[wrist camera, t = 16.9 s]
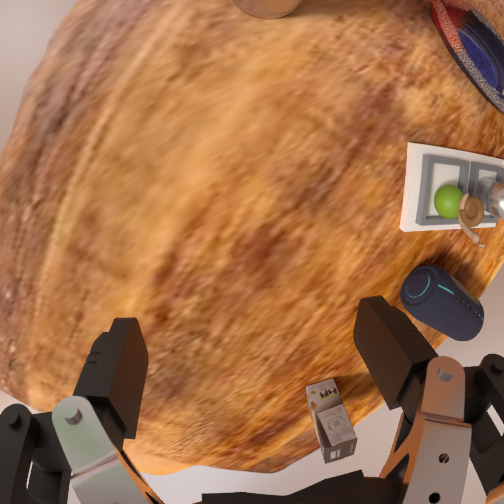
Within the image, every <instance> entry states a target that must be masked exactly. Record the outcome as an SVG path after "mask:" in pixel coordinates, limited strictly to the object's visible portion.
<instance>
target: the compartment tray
mask: <svg viewBox="0 0 504 504" xmlns="http://www.w3.org/2000/svg"><path fill="white" fill-rule="evenodd" d="M482 177H486V178H489V179H492V180H494V181H497V182H499V183H502V184H503V183H504V160H502V159H499V158H495V157H490V156H486V155H481V154H477V153H472V152H467V151H462V150H456V149H451V148H445V147H439V146H433V145H426V144H419V143H411V142H408V150H407V166H406V178H405V189H404V198H403V207H402V214H401V222H400V229H401V230H403V231H404V232H409V231H426V230H444V229H462V228H461V226H460V224H459V221H458V217H457V218H455V219H446V218H444V217H442V216H441V215H439V214H438V212H437V211H436V209H435V206H434V196H435V193H436V191H437V190H438V189H439V188H440V187H441V186H443V185H448V184H449V185H454V186H456V187H457V188H459V189H460V190H461V192H462V193H463V195H464V194H466V193H468V194H469V196H468V198H469V197H471V196H476V192H477V185H478V181H479V180H480V179H481V178H482ZM497 219H498V217H496V216H494V215H492V214H490V213H488V212H486V211H484V217H483V220H482V222H481V223H480V224H479V225H478V226H476V227H470V228H483V227H495V226H496V223H497Z"/></svg>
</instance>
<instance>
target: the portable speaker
mask: <svg viewBox="0 0 504 504" xmlns="http://www.w3.org/2000/svg"><path fill="white" fill-rule="evenodd" d="M400 298H401V301H402V304H403V306H404V308H405V309H406V310H407V311H408V312H409V313H410V314H411V315H412V316H413V317H414V318H416V319H417V320H419V321H421V322H423V323H425V324H427V325H428V326H430V327H432V328H434V329H436V330H438V331H440V332H441V333H443V334H445V335H447V336H449V337H451V338H452V339H455V340H458V341H468V340H471V339H473V338H474V337H475V336H477V334H478V333H479V332H480V330H481V328H482V325H483V321H484V310H483V307H482V305H481V303H480V301H479V300H478V299H477V298H476V297H474V296H473V295H472V294H471V293H470V292H469V291H468V290H467V289H466V288H465V287H464V286H463V285H462V284H461V283H459V282H458V281H457V280H456V279H455V278H454V277H453V276H452V275H451V274H449V272H447V271H446V270H445V269H443V268H442V267H440V266H438V265H426V266H421V267H418V268H417V269H415V270H414V271H412V272H411V273H410V274H409V275H408V276H407V278H406V279H405V281H404V283H403V285H402V288H401V292H400Z"/></svg>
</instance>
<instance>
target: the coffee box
mask: <svg viewBox="0 0 504 504" xmlns="http://www.w3.org/2000/svg"><path fill="white" fill-rule="evenodd" d="M306 391H307V399H308V407H309V411H310V414H311V417H312V421H313V424H314V427H315V431H316V434H317V437H318V441H319V444H320V447H321V451H322V454H323V457H324V461H325V463H330V462H333V461H336V460H340V459H342V458H345V457H348V456H351V455H353V454H354V451H355V446H356V443H357V437H356V435H355V432H354V430H353V427H352V424H351V422H350V419H349V417H348V414H347V412H346V409H345V406H344V404H343V402H342V399H341V396H340V394H339V391H338V389H337V387H336V384H335V382H334V379H333V378H332V379H329V380H326V381H322V382H319V383H315V384H312V385H308V386H306Z"/></svg>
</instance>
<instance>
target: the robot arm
mask: <svg viewBox="0 0 504 504" xmlns="http://www.w3.org/2000/svg"><path fill="white" fill-rule="evenodd" d="M233 1H234V2H235V4H236V5H237V6H238V7H239V8H240V9H241V10H242V11H244V12H245V13H247V14H249V15H252V16H254V17H258V18H264V19H276V18H280V17H284V16H286V15H288V14H290V13H291V12H293V11H294V10H295V9H296V8H297V6H298V5H299V4H300V3H301V1H302V0H233ZM353 337H354V342H355V345H356V347H357V349H358V351H359V353H360V355H361V357H362V358H363V360H364V362H365V364H366V366H367V368H368V369H369V371H370V373H371V375H372V377H373V379H374V381H375V383H376V385H377V386H378V388H379V390H380V392H381V394H382V396H383V398H384V400H385V402H386V403H387V406H388V407H389V410H392V409H395V408H398V407H402V409H403V413H402V415H401V417H400V421H399V425H398V429H397V432H396V436H395V439H394V442H393V445H392V449H391V452H390V455H389V457H388V460H387V462H386V464H385V466H384V467H383V469H382V471H381V473H380V475H379V477H364V475H363V472H362V470H358V471H354V472H351V473H347V474H344V475H340V476H336V477H332V478H328V479H324V480H322V481H320V482H318V483H316V484H314V485H311V486H309V487H307V488H305V489H302V490H300V491H297V492H295V493H293V494H290V495H286V496H278V495H265V494H255V493H247V492H234V493H210V494H202V501H201V502H197V503H193V504H460V503H461V499H462V495H463V490H464V485H465V480H466V474H467V467H468V461H469V457H470V459H471V461H472V463H473V466H474V468H475V470H476V472H477V474H478V477H479V479H480V481H481V483H482V486H483V488H484V491H485V493H486V496H487V499H486V503H485V504H504V433H503V436H501V435H500V433H499V431H498V430H497V428H496V426H495V424H494V423H493V421H492V419H491V417H490V416H489V414H488V412H487V410H488V408H490V406H491V405H493V407H494V408H495V410H496V412H497V413H498V415H499V417H500V418H501V420H502V422H503V424H504V358H503V357H502V356H500V355H497V354H488V355H486V356H485V357H484V358H483V360H482V361H481V363H480V365H479V366H473V367H462V366H461V364H460V363H459V362H457V361H456V360H454V359H453V358H450V357H446V356H438V354H437V353H436V352H435V350H434V349H433V348H432V347H431V345H430V344H429V343H428V341H427V340H426V339H425V338H424V336H423V335H422V334H421V333H420V331H418V329H417V328H416V326H415V325H414V324H412V321H411V320H410V319H409V318H408V317H407V315H406V314H405V313H404V312H402V311H400V310H399V309H397V308H396V307H394V306H393V307H391V306H390V305H389V304H388V302H387V301H386V300H385V299H384V298H383V297H382V296H380V295H379V296H372V297H366V298H362V299H361V300H360V302H359V307H358V312H357V317H356V322H355V326H354V332H353ZM147 369H148V351H147V348H146V345H145V342H144V339H143V336H142V332H141V329H140V326H139V323H138V320H137V319H136V318H115V319H114V321H113V323H112V326H111V328H110V330H109V332H103V333H102V334H101V335H100V336H99V337H98V338H97V339H96V340H95V341H94V343H93V345H92V348H91V350H90V354H89V355H88V357H87V360H86V363H85V364H84V367H83V369H82V372H81V374H80V377H79V380H78V382H77V385H76V387H75V390H74V393H73V395H72V396H70V397H67V398H64V399H62V400H61V401H60V402H59V403H58V404H57V405H56V406H55V408H54V409H53V411H52V412H46V413H38V414H32V413H31V412H30V411H29V410H28V408H27V407H25V406H24V405H22V404H12V405H10V406H8V407H7V408H5V409H4V410H3V412H2V413H1V415H0V504H67V499H68V491H69V484H70V481H71V484H72V487H73V489H74V491H75V493H76V495H77V497H78V499H79V500H80V502H81V504H165V503H164V502H163V501H162V500H161V499H160V498H159V497H158V496H157V494H156V493H155V492H154V491H153V490H152V489H151V487H150V486H149V485H148V483H147V482H146V481H145V479H144V478H143V477H142V475H141V474H140V472H139V471H138V470H137V468H136V467H135V465H134V464H133V462H132V461H131V459H130V458H129V456H128V455H127V453H126V452H125V450H124V449H123V442H124V438H125V439H135V436H136V430H137V424H138V417H139V412H140V406H141V400H142V395H143V389H144V384H145V379H146V374H147ZM31 461H32V462H33V465H32V469H31V474H30V479H29V484H28V489H27V487H26V483H27V478H28V473H29V469H30V464H31ZM71 471H73V476H71Z"/></svg>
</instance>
